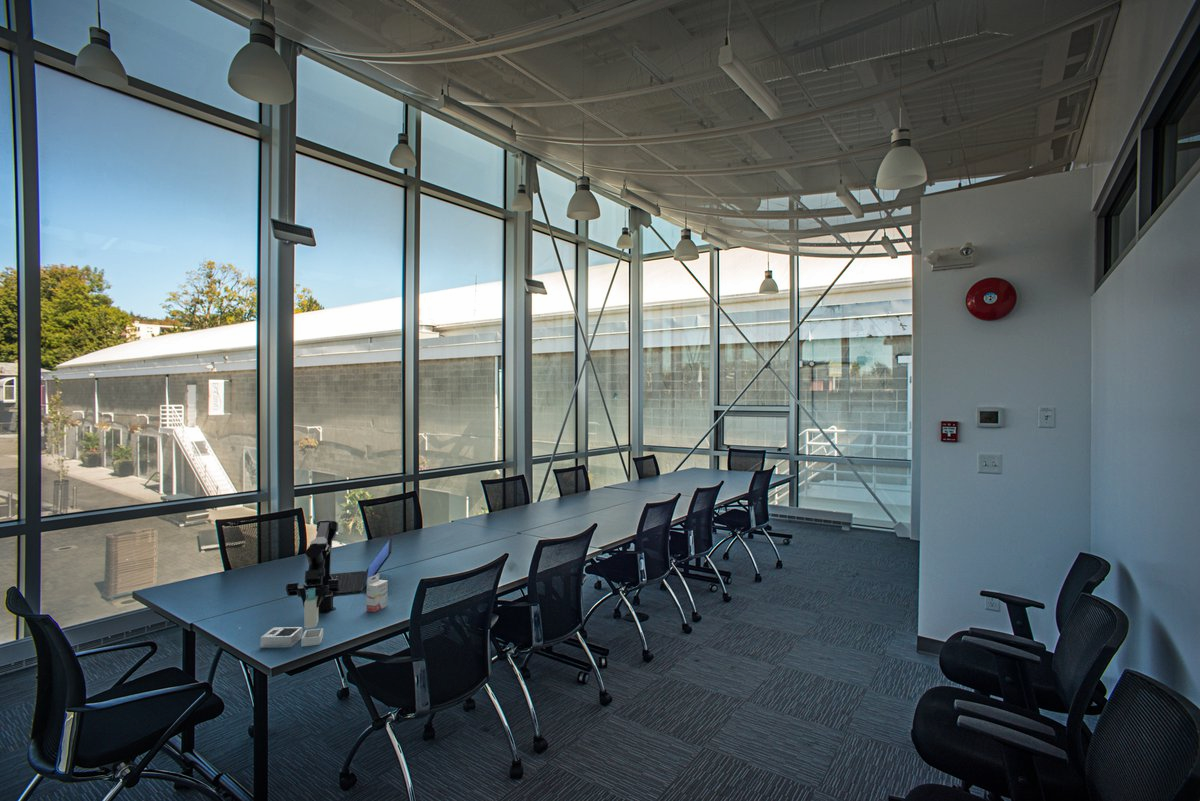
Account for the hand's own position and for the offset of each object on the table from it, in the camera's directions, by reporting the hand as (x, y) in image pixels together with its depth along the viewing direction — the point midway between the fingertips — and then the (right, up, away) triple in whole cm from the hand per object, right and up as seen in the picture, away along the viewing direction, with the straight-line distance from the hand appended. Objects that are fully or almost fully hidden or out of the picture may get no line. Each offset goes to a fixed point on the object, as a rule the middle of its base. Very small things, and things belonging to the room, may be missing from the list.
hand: (310, 607), depth 220 cm
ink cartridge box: (+12, -14, +36) cm, 40 cm away
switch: (-11, -13, 0) cm, 17 cm away
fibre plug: (0, -7, +1) cm, 7 cm away
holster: (0, -13, +1) cm, 14 cm away
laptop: (-14, -14, +70) cm, 73 cm away
